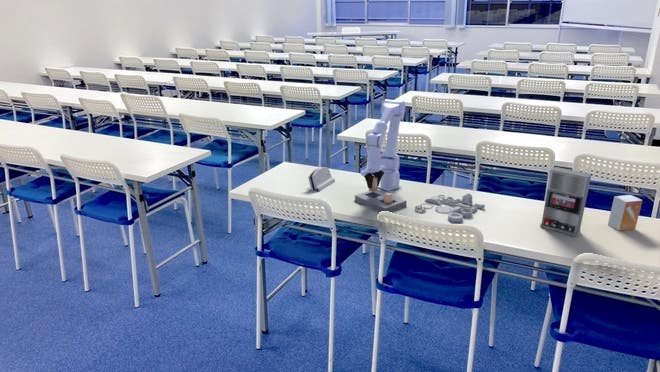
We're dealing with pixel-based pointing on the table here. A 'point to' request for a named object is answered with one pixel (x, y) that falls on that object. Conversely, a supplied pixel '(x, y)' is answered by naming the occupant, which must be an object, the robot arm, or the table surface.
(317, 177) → the hinge
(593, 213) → the table surface
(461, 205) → the robot parts
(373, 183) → the pink rounded capsule
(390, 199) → the fitted pink peg
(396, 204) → the housing
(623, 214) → the small box
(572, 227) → the cassette tape recorder
